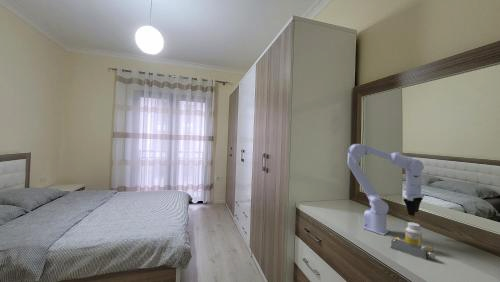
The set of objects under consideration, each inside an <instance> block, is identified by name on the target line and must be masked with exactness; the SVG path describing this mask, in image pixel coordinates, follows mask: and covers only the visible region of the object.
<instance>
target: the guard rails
mask: <svg viewBox="0 0 500 282" xmlns="http://www.w3.org/2000/svg"><path fill="white" fill-rule="evenodd" d="M395 238H396V239H398V240H401V238H400V237H398V236H396V237H395ZM425 248H427V249H428V250H427V251H429V252H433V251H434V248H433V247H431V246H429V247H427V246H426V247H425Z"/></svg>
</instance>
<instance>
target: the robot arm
mask: <svg viewBox="0 0 500 282" xmlns="http://www.w3.org/2000/svg"><path fill="white" fill-rule="evenodd" d="M365 155H366V156H367V155H373V156H376V157H378V158H381V159H385V160H387V161H388V163H389V164H390V165H394V166H397V167H399V168H402V169H405V170H406V171H405V175H406V176H405V194H404V195H405V196H406V197H407V198H403V203H404V204H405V206H406V211H407V214H408V216H413V217H415V215H416V213H418V212H419V210H420V205H421V203H422V201H423V199H424V198H425V195H424V194H422V172H423V170H424V169H425V165H424V164H423V162H422V161H421V160H419V159H415V158H413V157H412V156H410V155H409V156H406V155H404V154H402V153H401V152H399V151H398V152H397V151H396V152H392V153H389V152H387V151H385V150H382V149H378V148H376V147H374V146H370V145H365V144H362V143H352V144H351V145H349V148H348V149H347V166H348V168H349V169H350V171H351V173H352V174H353V176H354V177H355V179H356V180H357V182H358V184H359V185H360V187H361V188H362V190H363V192H364V193H365V195H366V197H367V199H368V201H369V203H368V204H369V206H370V209H365V211H364V214H363V226H362V229H364V230H367V231H369V232H372V233H376V234H380V235H383V236H385V235H386V234H387V233H389V232H390V230H389V229H387V224H388V223H387V221H388V212H389V209H390V207H389V205H388V203H387V202H386V201H384V200H383V199H382V198H381V196H380V195H379V194H378V192H377V191H376V188H374V186H373V184H372V183H371V182H370V179H369V178H368V177H367V175H366V174H365V172H364V170H363V168H362V167H361V165H360V162H361V159H362V158H363V157H364V156H365Z"/></svg>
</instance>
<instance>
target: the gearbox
mask: <svg viewBox="0 0 500 282" xmlns="http://www.w3.org/2000/svg"><path fill="white" fill-rule="evenodd" d="M390 242H391V243H390V248H391V249H393V250H396V251H399V252H402V253H405V254H408V255H411V256H413V257H417V258H420V259H423V260H427V258H430V259H433V260H436V253H434V252H433V251H427V250H428V249H427V248H426V247H425V246H422V245H421V246H418V245H414V244H411V243H408V242H405V240H401V239H400V240H398V239H396V237H394V238H392V239H391V241H390Z"/></svg>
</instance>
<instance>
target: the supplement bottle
mask: <svg viewBox="0 0 500 282" xmlns="http://www.w3.org/2000/svg"><path fill="white" fill-rule="evenodd" d="M422 233H423V232H422V231H421V224H419V223H417V222H416V223H415V222H412V221H410V222H407V227H405V232H404V236H405V237H404V241H405V242H408V243H411V244H414V245H418V246H421V247H422V237H423V236H422V235H423V234H422Z"/></svg>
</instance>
